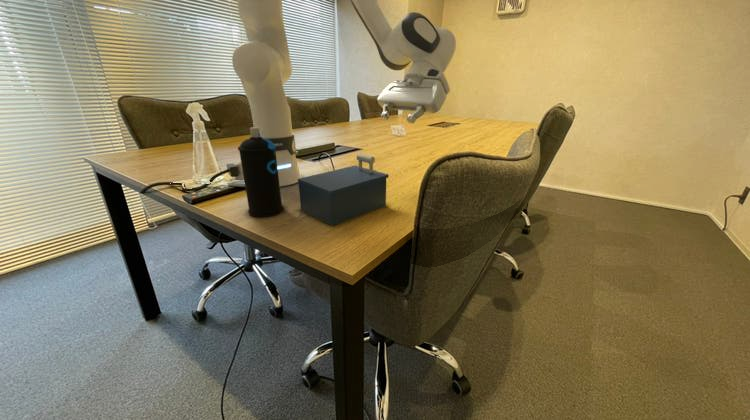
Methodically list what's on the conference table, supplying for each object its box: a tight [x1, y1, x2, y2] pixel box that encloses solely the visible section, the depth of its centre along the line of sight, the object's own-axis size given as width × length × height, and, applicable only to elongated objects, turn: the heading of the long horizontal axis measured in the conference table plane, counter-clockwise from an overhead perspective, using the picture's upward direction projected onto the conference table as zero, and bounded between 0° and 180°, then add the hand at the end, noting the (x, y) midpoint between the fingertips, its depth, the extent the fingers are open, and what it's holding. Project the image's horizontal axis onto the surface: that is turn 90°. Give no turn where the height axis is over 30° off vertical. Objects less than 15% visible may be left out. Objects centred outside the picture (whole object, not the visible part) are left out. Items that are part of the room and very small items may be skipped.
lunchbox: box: [297, 178, 387, 227], centre depth 76 cm, size 18×13×7 cm
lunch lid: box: [297, 153, 390, 195], centre depth 73 cm, size 18×13×5 cm
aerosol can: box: [237, 126, 284, 218], centre depth 71 cm, size 8×8×20 cm
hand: (396, 120), depth 82 cm, fingers open, 8 cm apart
